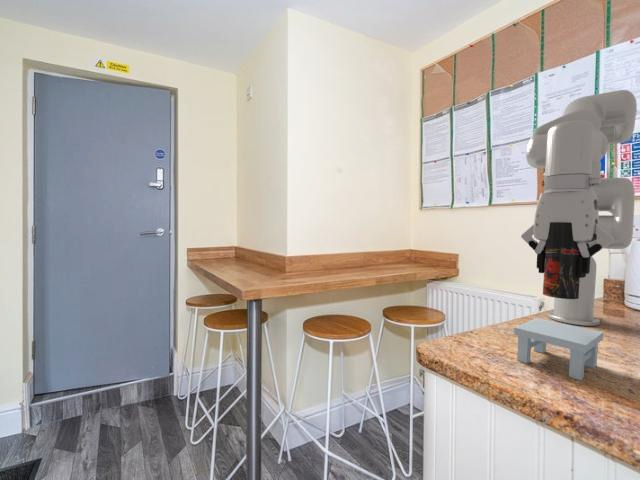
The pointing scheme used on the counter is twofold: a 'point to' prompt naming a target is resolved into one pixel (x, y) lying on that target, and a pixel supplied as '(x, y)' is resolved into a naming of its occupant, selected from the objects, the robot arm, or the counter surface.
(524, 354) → the pale blue square tabletop
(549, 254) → the deodorant
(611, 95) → the robot arm
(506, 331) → the counter surface
